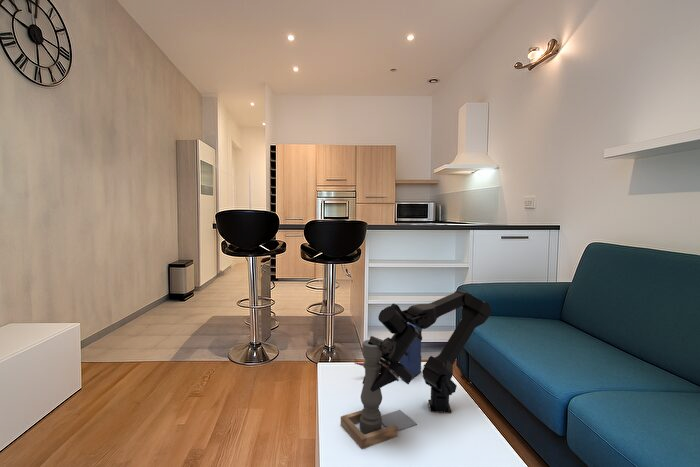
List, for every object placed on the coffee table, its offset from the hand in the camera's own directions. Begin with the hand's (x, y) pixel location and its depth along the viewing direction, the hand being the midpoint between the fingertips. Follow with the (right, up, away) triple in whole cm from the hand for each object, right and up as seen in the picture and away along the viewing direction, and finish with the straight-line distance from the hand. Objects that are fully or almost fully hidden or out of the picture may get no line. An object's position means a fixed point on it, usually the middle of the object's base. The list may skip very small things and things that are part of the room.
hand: (367, 387), depth 100 cm
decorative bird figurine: (+5, -11, +34) cm, 36 cm away
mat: (+9, -12, +6) cm, 16 cm away
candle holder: (+1, -13, +1) cm, 13 cm away
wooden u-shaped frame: (+1, -13, +1) cm, 13 cm away
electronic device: (+18, -11, +37) cm, 42 cm away
